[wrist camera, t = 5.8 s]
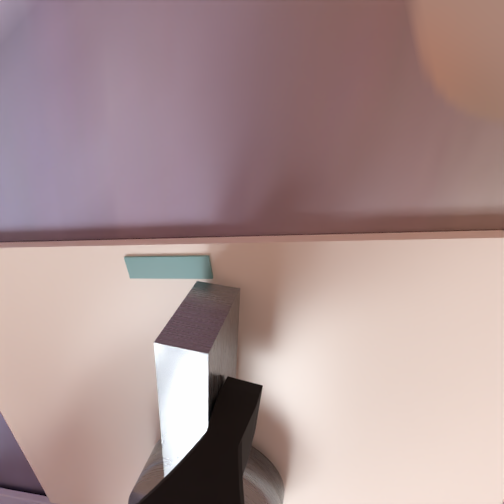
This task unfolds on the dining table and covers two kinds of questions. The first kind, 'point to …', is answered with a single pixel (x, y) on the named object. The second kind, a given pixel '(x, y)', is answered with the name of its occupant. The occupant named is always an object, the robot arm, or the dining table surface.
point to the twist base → (268, 359)
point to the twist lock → (200, 388)
